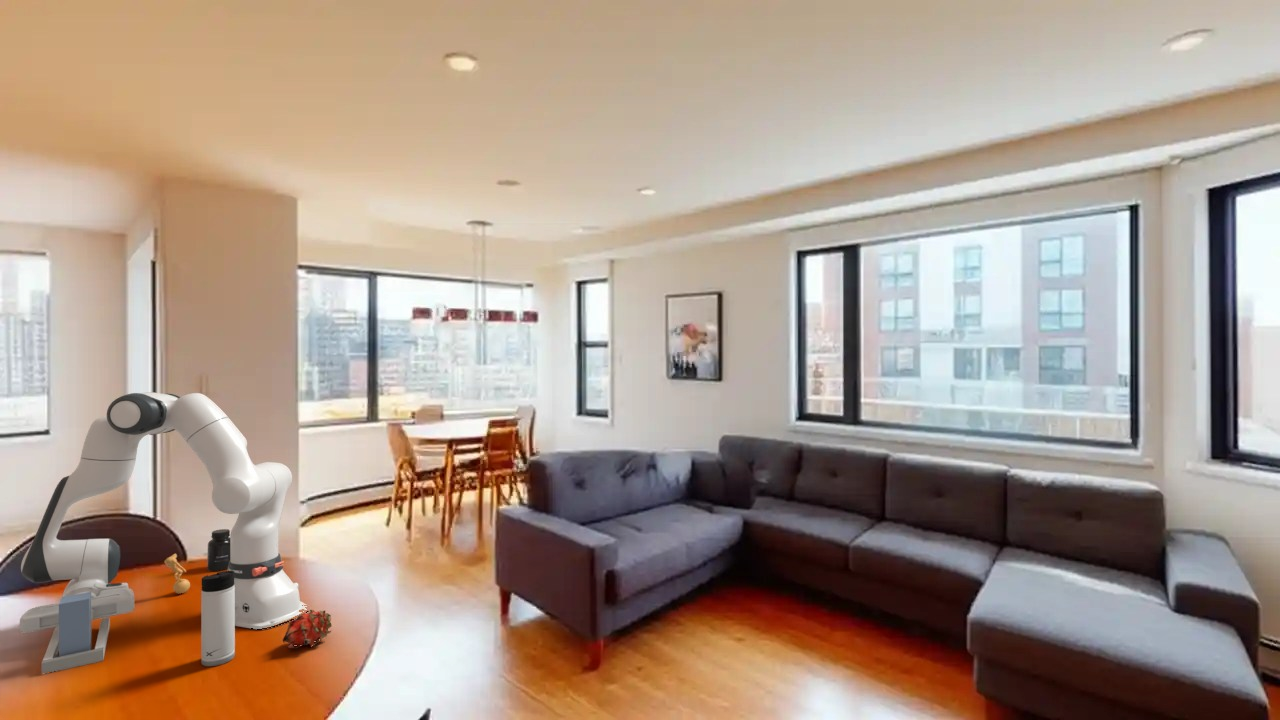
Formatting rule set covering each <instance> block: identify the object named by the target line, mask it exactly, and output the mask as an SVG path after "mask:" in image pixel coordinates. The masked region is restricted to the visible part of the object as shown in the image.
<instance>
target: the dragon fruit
mask: <svg viewBox="0 0 1280 720" xmlns="http://www.w3.org/2000/svg"><path fill="white" fill-rule="evenodd" d="M331 616H332V614H329V613H326V610H319V611H315V610H313V609H311V608H310V610H309V612H307V613H303V614H300V615H298V617H297V618H296V619H294V620H292V621H289V622H288V626H287V630H286V631H285V634H284V636H283V638H282V643H283V644H285V643H288V646H287V648H288V649H290V648H293V649H299V648H298V647H300V645H304V646H307V645H309V646H310V645H311V646H312V645H314V646H315V645H316V644H318V643H319V642H320V641H319V639H320V638H321V639H323V638H326V637H327V636H328V634H331V633H332V630H329V629H330V628H331V627H332V623H331V621H332V617H331ZM314 641H316V642H314ZM318 641H319V642H318ZM294 645H297V646H294ZM311 646H310V647H311Z"/></svg>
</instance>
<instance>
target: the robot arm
mask: <svg viewBox="0 0 1280 720" xmlns="http://www.w3.org/2000/svg"><path fill="white" fill-rule="evenodd" d="M173 431H177V433H179V435H180V436H181V437H182V438H183V439H184V441H185V442H186V443H187V445H188V446H189V447H190V448H191V449H192V450H193V452H194V453H195V455H196V456H197V457H198V458H199V460H200V461H201V462H202V463H203V465H204V466H205V468H206V470H207V473H208V474H209V477H210V480H211V483H212V490H211V500H212V502H213V503H212V504H213V505H214V507H215V508H216V509H217V510H218V511H219V512H221V513H224V514H227V515H234V514H235V515H236V514H237V518H236V521H235V523H234V525H233V527H231V530H230V536H229V537H230V561H229V565H228V569H227V571H234V584H235V586H234V587H235V627H241V628H246V629H251V628H253V629H252V630H257V629H262V628H267V627H271V626H274V625H277V624H279V623H282V622H284V621H287V620H289V619H291V618H293V617H295V616H297V615H299V614H301V613H302V612H299V610H302V609H304V610H307V609H306V608H305V607H307V606H304V605H307V604H306V603H304V602H303V601H301V599H300V592H299V590H300V589H299V588H300V587H299V583H298V582H293V580H291V579H290V577H289V576H288V575H287V573H286V572H285V571H284V569H283V568H284V566H285V564H284V563H285V560H282V557H281V554H280V553H279V542H280V541H279V538H280V536H279V535H280V522H281V516H282V512H283V508H284V503H285V500H286V497H287V494H288V491H289V489H290V487H291V485H292V483H293V473H292V471H291V470H290V468H289V467H288V466H287V465H285V464H283V463H281V462H274V461H266V462H260V463H257V464H254V463H253V461H252V459H251V458H250V455H249V453H248V448H247V447H248V441H247V438H246V436H244V435H243V434H242V433H243V432H241V431H240V430H239V429H238V427H237V426H236V424H234V421H232V420H231V419H230V417H229V416H228V415H227V414H226V413H225V412H224V411H223V410H222V409H221V408H220V406H218V405H217V404H216V403H215V402H214V401H213V400H212V399H210V397H208V396H206V395H205V394H203V393H200V392H192V393H188V394H184V395H182V396H178V395H176V394H173V393H159V392H154V391H152V392H133V393H127V394H124V395H121V396H119V397H118V398H115V399H114V400H113V401H112V402H111V403H110V404H109V405H108V408H107V410H106V415H104V416H101V417H98V418H96V419H95V420H94V421H93V422H92V423H91V425H90V426H89V429H88V432H87V433H86V435H85V439H84V442H83V447H82V450H81V455H80V460H79V463H78V465H77V467H76V468H75V469H74V471H73V472H72V473H71V474H70V475H67V476H64V477H62V479H60V481H59V482H58V483H57V485H56V487H55V488H54V491H53V493H52V495H51V498H50V500H49V502H48V505H47V506H46V509H45V511H44V514H43V517H42V519H41V521H40V524H39V526H38V529H37V531H36V532H35V533H36V534H35V536H34V539H33V540H32V543H31V545H30V546H29V548H28V549H27V551H26V552H25V553H24V555H23V558H22V560H21V565H20V571H21V573H20V574H21V575H22V577H24V578H25V579H26V580H27V581H30V582H31V583H34V584H40V583H48V582H54V581H63V580H70V581H69V582H68V583H67V585H66V586H65V588H64V590H63V592H62V593H63V594H62V595H61V597H65V596H70V595H76V594H82V593H88V592H91V621H93V620H99V619H102V618H107V617H114V616H119V615H123V614H128V613H131V612H133V611H134V610H135V593H134V591H133V589H131V588H129V583H127V582H116V583H115V582H114V583H111V582H113V580H114V579H116V577H117V576H118V573H119V567H120V563H121V561H120V560H121V547H120V545H119V544H118V543H117V541H115V540H114V539H112V538H88V539H67V540H66V539H65V540H63V539H58V538H57V536H58V534H59V532H60V529H61V526H62V523H63V521H64V518H65V517H66V514H67V511H68V509H69V508H70V507H71V506H72V505H74V504H75V503H77V502H79V501H82V500H84V499H89V498H91V497H95V496H99V495H102V494H105V493H108V492H111V491H114V490H115V489H118V488H120V487H122V486H123V485H125V484H126V483H127V482H128V480H130V479H131V477H132V475H133V473H134V468H135V466H136V465H135V464H136V459H137V454H138V453H137V452H138V447H139V445H140V442H141V440H142V439H143V438H144V437H145V436H148V435H149V436H154V435H159V434H166V433H170V432H173ZM302 605H303V606H302ZM303 612H304V611H303ZM56 627H59V602H55V603H50V604H45V605H44V604H43V605H39V606H35V607H32V608H30V609H28V610H26V611H25V612H24V614H22V615H21V617H20V619H19V632H20V633H23V634H28V633H32V632H37V631H38V632H39V631H42V630H43V631H44V630H49V629H53V628H54V629H55V628H56ZM271 628H272V627H271ZM267 629H268V628H267ZM262 630H263V629H262Z"/></svg>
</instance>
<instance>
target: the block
mask: <svg viewBox="0 0 1280 720" xmlns="http://www.w3.org/2000/svg"><path fill="white" fill-rule="evenodd" d="M58 603H59V652H58V657H61V656H66V655H70V654H75V653H79V652H84V651H89V650H92V620H91V592H88V593H82V594H76V595H70V596H65V597H62V596H61V598H60V600H59V602H58Z"/></svg>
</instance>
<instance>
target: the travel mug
mask: <svg viewBox="0 0 1280 720" xmlns="http://www.w3.org/2000/svg"><path fill="white" fill-rule="evenodd" d="M234 586H235V584H234V571H228V570H223V571H217V572H216V573H215V574H211V575H208V574H207V575H204V576H203V577H201V589H200V590H201V591H200V592H201V594H200V595H201V596H200V597H201V598H200V599H201V601H200V603H201V607H200V608H201V609H200V611H201V612H200V613H201V615H200V617H201V622H200V623H201V628H200V629H201V630H200V633H201V635H200V636H201V637H200V639H201V640H200V643H201V645H200V646H201V650H200V653H201V654H200V655H201V656H200V657H201V660H200V661H201V663H200V664H201V665H202V666H204V667H216V666H221V665H224V664H226V663H229V662H230V661H232V660H233V659H234V658H235V655H236V652H235V651H236V650H235V647H236V637H235V635H236V634H235V633H236V628H235V627H236V626H235V587H234Z"/></svg>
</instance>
